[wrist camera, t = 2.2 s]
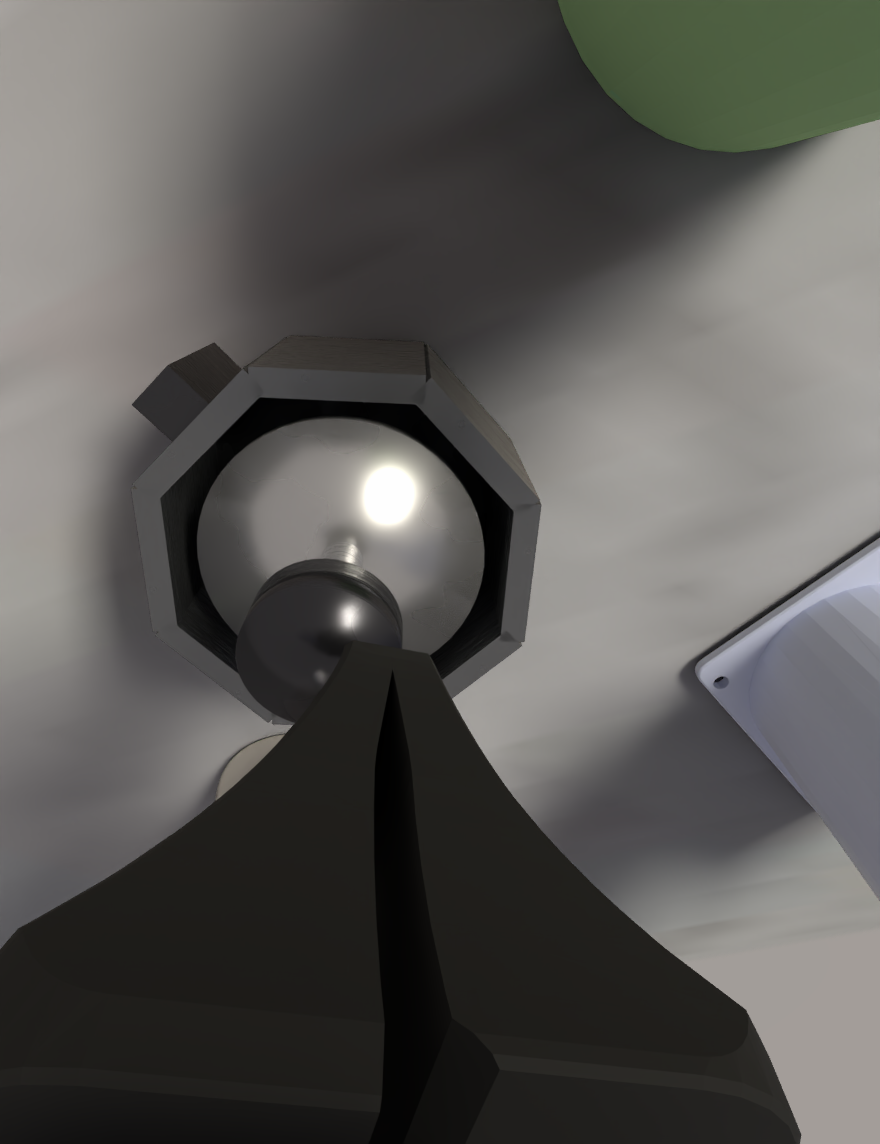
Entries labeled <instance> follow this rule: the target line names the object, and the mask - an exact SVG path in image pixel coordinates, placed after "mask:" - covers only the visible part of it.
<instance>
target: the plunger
mask: <svg viewBox="0 0 880 1144" xmlns="http://www.w3.org/2000/svg"><path fill="white" fill-rule="evenodd" d="M197 555H198V561H199V567H200V572H201V576H202V579H203V582H204V585H205V588H206V590H207V592H208V594H209V596H210V598H211V601H212V603H213V605H214V606H215V608H216V609H217V611H218V612H219V614H220V615H221V617H222V618H223V620H224V621H225V622H226V623H227V624H228V626H229V627H230V628H231V629H232V630H233V631H234V633H236V634H237V635H238V638H237V642H236V649H235V658H236V665H237V669H238V672H239V675H240V678H241V680H242V682H243V684H244V686H245V687H246V689H247V690H248V692H249V693H250V694H251V695H252V696H253V698H254V699H255V700H256V701H257V702H258V703H260V704H261V705H262V706H263V707H264V708H266V709H267V710H269V711H270V712H271V713H273V714H275V715H277V716H279V717H281V718H283V719H285V720H288V721H290V722H294V723H296V721H297V720H298V719H299V718H300V717H301V716H302V714H303V713H304V712H305V711H306V709H307V708H308V707H309V705H310V704H311V703H312V701H313V700H314V699H315V697H316V696H317V694H318V693H319V692H320V690H321V689H322V688H323V686H324V685H325V683H326V682H327V680H328V679H329V677H330V675H331V674H332V672H333V671H334V669H335V667H336V665H337V664H338V662H339V660H340V657H341V655H342V653H343V650H344V646H345V644H347V643H349V642H351V641H352V640H356V641H361V642H367V643H372V644H378V645H384V646H389V647H395V648H400V649H406V650H411V651H417V652H422V653H428V654H429V655H431V654H432V653H434V652H435V651H437V650H438V649H439V648H440V647H441V646H442V645H444V644H445V643H446V642H447V641H448V640H449V639H450V638H451V637H452V636H453V635H454V634H455V632H456V631H457V630H458V629H459V628H460V627H461V625H462V624H463V622H464V621H465V619H466V618H467V616H468V614H469V613H470V611H471V609H472V607H473V605H474V602H475V600H476V598H477V595H478V592H479V589H480V585H481V582H482V576H483V569H484V543H483V535H482V529H481V525H480V522H479V518H478V514H477V511H476V508H475V505H474V503H473V501H472V499H471V496H470V494H469V492H468V490H467V489H466V487H465V485H464V484H463V482H462V481H461V479H460V477H459V476H458V475H457V474H456V472H455V471H454V470H453V469H452V467H451V466H450V465H449V464H448V463H447V462H446V461H445V460H444V459H443V458H442V457H441V456H440V455H439V454H438V453H437V452H436V451H435V450H433V449H432V448H431V447H429V446H428V445H426V444H425V443H424V442H422V441H421V440H419V439H418V438H416V437H414V436H412V435H411V434H409V433H407V432H405V431H403V430H401V429H399V428H396V427H394V426H391V425H389V424H386V423H383V422H380V421H376V420H372V419H368V418H363V417H355V416H346V415H323V416H316V417H309V418H303V419H299V420H296V421H293V422H289V423H286V424H283V425H281V426H279V427H276V428H274V429H272V430H270V431H268V432H266V433H264V434H262V435H261V436H259V437H258V438H256V439H255V440H253V441H251V442H250V443H249V444H248V445H247V446H245V447H244V448H243V449H242V450H241V451H240V452H238V453H237V454H236V455H235V456H234V458H233V459H232V460H231V461H230V462H229V463H228V465H227V466H226V467H225V468H224V469H223V470H222V472H221V473H220V474H219V476H218V477H217V479H216V480H215V482H214V484H213V485H212V487H211V488H210V491H209V493H208V495H207V497H206V500H205V502H204V504H203V508H202V512H201V515H200V519H199V524H198V533H197Z"/></svg>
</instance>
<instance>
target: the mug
mask: <svg viewBox="0 0 880 1144" xmlns="http://www.w3.org/2000/svg"><path fill="white" fill-rule="evenodd" d="M558 3H559V7H560V10H561V14H562V17H563V20H564V23H565V25H566V27H567V29H568V31H569V33H570V35H571V37H572V39H573V42H574V44H575V46H576V48H577V50H578V52H579V54H580V56H581V58H582V60H583V62H584V63H585V65H586V66H587V67H588V69H589V70H590V72H591V73H592V74H593V76H594V77H595V79H596V80H597V81H598V83H599V84H600V85H601V87H602V88H603V90H604V91H605V92H606V94H607V95H608V96H609V97H610V98H611V99H613V100H614V101H615V102H616V103H617V104H618V105H619V106H620V107H621V108H622V109H623V110H624V111H625V112H627V113H628V114H629V115H630V116H631V117H632V118H633V119H634V120H635V121H637V122H639V123H641V124H642V125H644V126H646V127H647V128H649V129H651V130H652V131H654V132H656V133H657V134H659V135H661V136H662V137H664V138H666V139H669V140H672V141H675V142H678V143H681V144H684V145H688V146H691V147H694V148H697V149H701V150H712V151H723V152H734V153H736V152H745V151H753V150H761V149H769V148H774V147H778V146H782V145H786V144H789V143H793V142H797V141H801V140H804V139H808V138H812V137H815V136H819V135H823V134H827V133H830V132H834V131H838V130H842V129H845V128H849V127H853V126H857V125H860V124H864V123H868V122H872V121H875V120H879V119H880V0H558Z"/></svg>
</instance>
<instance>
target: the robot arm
mask: <svg viewBox="0 0 880 1144" xmlns="http://www.w3.org/2000/svg"><path fill="white" fill-rule="evenodd" d="M695 674H696V675H697V677H698V679H699V680H700V682H701V683H702V684H703V685H704V686H705V687H706V689H707V690H708V691H709V692H710V693H711V694H712V695H713V696H714V697H715V699H716V700H717V701H718V702H719V703H720V704H721V705H722V706H723V708H724V709H725V710H726V711H727V712H728V713H729V714H730V715H731V717H732V718H733V719H734V720H735V721H736V722H737V723H738V724H739V726H740V727H741V728H742V729H743V730H744V731H745V732H746V733H747V735H748V736H749V737H750V738H751V739H752V740H753V741H754V742H755V744H756V745H757V746H758V747H759V748H760V749H761V750H762V751H763V753H764V754H765V755H766V756H767V757H768V758H769V759H770V760H771V762H772V763H773V764H774V765H775V766H776V767H777V768H778V769H779V771H780V772H781V773H782V774H783V775H784V776H785V777H786V778H787V780H788V781H789V782H790V783H791V784H792V785H793V786H794V787H795V789H796V790H797V791H798V792H799V793H800V794H801V795H802V796H803V798H804V799H805V800H806V801H807V802H808V803H809V804H810V805H811V807H812V808H813V809H814V810H815V811H816V812H817V813H818V814H819V816H820V817H821V818H822V820H823V821H824V823H825V824H826V826H827V827H828V828H829V830H830V831H831V833H832V834H833V836H834V837H835V838H836V840H837V841H838V843H839V844H840V845H841V847H842V848H843V850H844V851H845V853H846V854H847V855H848V857H849V858H850V860H851V861H852V862H853V864H854V865H855V867H856V868H857V870H858V871H859V872H860V874H861V875H862V877H863V878H864V880H865V881H866V882H867V884H868V885H869V887H870V888H871V889H872V891H873V892H874V894H875V895H876V897H877V898H878V899H879V901H880V538H878V539H877V540H876V541H874V542H873V543H871V544H870V545H868V546H867V547H865V548H864V549H862V550H861V551H859V552H858V553H856V554H855V555H854V556H852V557H851V558H849V559H848V560H846V561H845V562H843V563H842V564H840V565H839V566H837V567H836V568H834V569H833V570H832V571H830V572H829V573H827V574H826V575H824V576H823V577H821V578H820V579H818V580H817V581H815V582H814V583H812V584H811V585H810V586H808V587H807V588H805V589H804V590H802V591H801V592H799V593H798V594H796V595H795V596H793V597H792V598H791V599H789V600H788V601H786V602H785V603H783V604H782V605H780V606H779V607H777V608H776V609H774V610H773V611H771V612H770V613H769V614H767V615H766V616H764V617H763V618H761V619H760V620H758V621H757V622H755V623H754V624H752V625H751V626H749V627H748V628H747V629H745V630H744V631H742V632H741V633H739V634H738V635H736V636H735V637H733V638H732V639H730V640H729V641H727V642H726V643H725V644H723V645H722V646H720V647H719V648H717V649H716V650H714V651H713V652H711V653H710V654H708V655H707V656H705V657H704V658H703V659H701V660H700V661H699V662H698V663H697V665H696V667H695ZM719 677H724V678H723V679H722V680H721V681H719V682H714V681H715V680H716V679H717V678H719ZM800 1139H801V1133H800V1131H799V1128H798V1125H797V1123H796V1121H795V1118H794V1116H793V1113H792V1111H791V1108H790V1106H789V1103H788V1101H787V1099H786V1096H785V1094H784V1091H783V1089H782V1087H781V1084H780V1082H779V1080H778V1077H777V1075H776V1072H775V1070H774V1067H773V1065H772V1062H771V1060H770V1058H769V1056H768V1054H767V1051H766V1050H765V1047H764V1045H763V1043H762V1041H761V1039H760V1037H759V1035H758V1033H757V1031H756V1029H755V1027H754V1025H753V1023H752V1021H751V1019H750V1017H749V1015H748V1013H747V1011H746V1010H745V1009H744V1008H743V1007H741V1006H740V1005H739V1004H737V1003H736V1002H735V1001H734V1000H732V999H731V998H730V997H728V996H727V995H726V994H724V993H723V992H722V991H720V990H719V989H718V988H716V987H715V986H714V985H713V984H711V983H710V982H708V981H707V980H706V979H704V978H703V977H702V976H701V975H699V974H698V973H697V972H695V971H694V970H693V969H691V968H690V967H689V966H687V965H686V964H685V963H684V962H682V961H681V960H680V959H678V958H677V957H676V956H674V955H673V954H672V953H670V952H669V951H668V950H667V949H665V948H664V947H663V946H662V945H660V944H659V943H658V942H657V941H656V940H654V939H653V938H652V937H651V936H650V935H649V934H648V933H646V932H645V931H644V930H643V929H642V928H641V927H639V926H638V925H637V924H636V923H635V922H634V921H633V920H631V919H630V918H629V917H628V916H627V915H626V914H624V913H623V912H622V911H621V910H620V909H619V908H618V907H617V906H615V905H614V904H613V903H612V902H611V901H610V900H609V899H608V898H607V897H606V896H605V895H604V894H603V893H601V892H600V891H599V890H598V889H597V888H596V887H595V886H594V885H593V884H592V883H591V882H590V881H589V880H588V879H587V878H586V877H585V876H584V875H583V874H582V873H581V872H580V871H579V870H578V869H577V868H576V867H575V866H574V865H573V864H572V863H571V862H570V861H569V860H568V859H567V858H566V857H565V856H564V855H563V854H562V853H561V852H560V851H559V849H558V848H557V847H556V846H555V845H554V844H553V843H552V842H551V841H550V840H549V839H548V837H547V836H546V835H545V834H544V833H543V832H542V831H541V830H540V828H539V827H538V826H537V825H536V823H535V822H534V821H533V820H532V819H531V817H530V816H529V815H528V814H527V813H526V811H525V810H524V809H523V808H522V807H521V805H520V804H519V803H518V802H517V801H516V799H515V798H514V797H513V795H512V794H511V793H510V791H509V790H508V789H507V787H506V786H505V785H504V783H503V782H502V780H501V779H500V777H499V776H498V775H497V773H496V772H495V770H494V769H493V767H492V766H491V764H490V763H489V761H488V760H487V758H486V757H485V755H484V754H483V752H482V750H481V749H480V747H479V746H478V744H477V742H476V741H475V739H474V737H473V736H472V734H471V732H470V731H469V729H468V727H467V725H466V724H465V722H464V720H463V719H462V717H461V715H460V713H459V712H458V710H457V708H456V706H455V704H454V702H453V700H452V698H451V697H450V695H449V693H448V691H447V689H446V687H445V685H444V683H443V681H442V679H441V677H440V675H439V672H438V670H437V668H436V666H435V664H434V662H433V660H432V659H431V657H430V655H429V654H428V653H422V652H417V651H411V650H406V649H400V648H395V647H389V646H384V645H378V644H372V643H367V642H361V641H356V640H352V641H351V642H349V643H347V644H345V646H344V650H343V653H342V655H341V657H340V660H339V662H338V664H337V665H336V667H335V669H334V671H333V672H332V674H331V675H330V677H329V679H328V680H327V682H326V683H325V685H324V686H323V688H322V689H321V690H320V692H319V693H318V694H317V696H316V697H315V699H314V700H313V701H312V703H311V704H310V705H309V707H308V708H307V709H306V711H305V712H304V713H303V714H302V716H301V717H300V718H299V719H298V720H297V721H296V723H295V724H294V725H293V726H292V727H291V728H290V730H289V731H288V732H287V733H286V734H285V735H284V736H283V738H282V739H281V740H280V741H279V742H278V743H277V744H276V745H275V746H274V748H273V749H272V750H271V751H270V752H269V753H268V754H267V755H266V756H265V757H264V758H263V759H262V760H261V761H260V762H259V763H258V764H257V765H256V766H255V767H254V768H252V769H251V770H250V771H249V772H248V773H247V774H246V775H245V776H244V777H243V778H242V779H241V780H240V781H239V782H237V783H236V784H235V785H234V786H233V787H232V788H231V789H229V790H228V791H227V792H226V793H225V794H223V795H222V796H221V797H220V798H219V799H217V800H216V801H215V802H214V803H213V804H211V805H210V806H209V807H208V808H207V809H205V810H204V811H203V812H202V813H200V814H199V815H198V816H196V817H195V818H194V819H193V820H191V821H190V822H189V823H187V824H186V825H185V826H183V827H182V828H181V829H179V830H178V831H177V832H175V833H174V834H172V835H171V836H169V837H168V838H166V839H165V840H163V841H162V842H160V843H159V844H158V845H156V846H155V847H153V848H152V849H150V850H149V851H147V852H146V853H144V854H143V855H141V856H140V857H139V858H137V859H136V860H134V861H133V862H131V863H130V864H128V865H127V866H125V867H124V868H122V869H121V870H119V871H118V872H116V873H114V874H113V875H111V876H110V877H108V878H106V879H105V880H103V881H101V882H100V883H98V884H96V885H94V886H93V887H91V888H89V889H87V890H86V891H84V892H82V893H80V894H79V895H77V896H75V897H73V898H72V899H70V900H68V901H67V902H65V903H63V904H61V905H60V906H58V907H56V908H54V909H53V910H51V911H49V912H47V913H46V914H44V915H42V916H40V917H39V918H37V919H35V920H33V921H31V922H30V923H28V924H26V925H24V926H22V927H20V928H19V929H18V930H17V931H16V932H15V933H14V934H13V935H12V936H11V938H10V939H9V940H8V941H7V942H6V943H5V945H4V946H3V947H2V948H1V949H0V1144H800Z"/></svg>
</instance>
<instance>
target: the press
mask: <svg viewBox="0 0 880 1144" xmlns="http://www.w3.org/2000/svg"><path fill="white" fill-rule="evenodd" d="M132 405H133V406H134V407H135V408H136V409H137V410H138V411H139V412H140V413H141V414H143V415H144V416H145V417H146V418H147V419H148V420H149V421H150V422H151V423H153V424H154V425H155V426H156V427H157V428H158V429H159V430H160V431H161V432H163V433H164V434H165V435H166V436H167V437H168V438H169V439H170V440H171V441H173V442H172V443H171V444H170V445H169V446H168V447H167V448H166V449H165V451H164V452H163V453H162V454H161V455H160V456H159V457H158V458H157V459H156V460H155V461H154V462H153V463H152V464H151V465H150V466H149V467H148V468H147V469H146V470H145V471H144V472H143V473H142V475H141V476H140V477H139V478H138V479H137V480H136V481H135V482H134V483H133V485H134V487H132V488H131V493H132V499H133V506H134V512H135V519H136V525H137V532H138V539H139V545H140V552H141V558H142V565H143V571H144V578H145V585H146V591H147V598H148V604H149V611H150V617H151V624H152V631H153V632H157V634H156V635H155V636H156V637H158V638H159V639H160V640H162V641H163V642H164V643H165V644H167V645H168V646H169V647H171V648H172V649H173V650H175V651H176V652H177V653H178V654H180V655H181V656H182V657H184V658H185V659H186V660H187V661H189V662H190V663H191V664H193V665H194V666H195V667H197V668H198V669H199V670H200V671H202V672H203V673H204V674H206V675H207V676H208V677H209V678H211V679H212V680H213V681H215V682H216V683H217V684H219V685H220V686H221V687H222V688H224V689H225V690H226V691H228V692H229V693H230V694H231V695H233V696H234V697H235V698H237V699H238V700H239V701H241V702H242V703H243V704H244V705H246V706H247V707H248V708H250V709H251V710H252V711H253V712H255V713H256V714H257V715H259V716H260V717H261V718H263V719H264V720H265V721H266V722H270V721H271V720H272V724H282V725H294V724H295V723H294V722H290V721H288V720H285V719H283V718H281V717H279V716H277V715H275V714H273V713H271V712H270V711H269V710H267V709H266V708H264V707H263V706H262V705H261V704H260V703H258V702H257V701H256V700H255V699H254V698H253V696H252V695H251V694H250V693H249V692H248V690H247V689H246V687H245V686H244V684H243V682H242V680H241V678H240V675H239V672H238V669H237V665H236V658H235V649H236V642H237V638H238V635H237V634H236V633H234V631H233V630H232V629H231V628H230V627H229V626H228V624H227V623H226V622H225V621H224V620H223V618H222V617H221V615H220V614H219V612H218V611H217V609H216V608H215V606H214V605H213V603H212V601H211V598H210V596H209V594H208V592H207V590H206V588H205V585H204V582H203V579H202V576H201V572H200V567H199V561H198V555H197V533H198V524H199V519H200V515H201V512H202V508H203V504H204V502H205V500H206V497H207V495H208V493H209V491H210V488H211V487H212V485H213V484H214V482H215V480H216V479H217V477H218V476H219V474H220V473H221V472H222V470H223V469H224V468H225V467H226V466H227V465H228V463H229V462H230V461H231V460H232V459H233V458H234V456H235V455H236V454H237V453H238V452H240V451H241V450H242V449H243V448H244V447H245V446H247V445H248V444H249V443H250V442H251V441H253V440H255V439H256V438H258V437H259V436H261V435H262V434H264V433H266V432H268V431H270V430H272V429H274V428H276V427H279V426H281V425H283V424H286V423H289V422H293V421H296V420H299V419H303V418H309V417H316V416H323V415H346V416H355V417H363V418H368V419H372V420H376V421H380V422H383V423H386V424H389V425H391V426H394V427H396V428H399V429H401V430H403V431H405V432H407V433H409V434H411V435H412V436H414V437H416V438H418V439H419V440H421V441H422V442H424V443H425V444H426V445H428V446H429V447H431V448H432V449H433V450H435V451H436V452H437V453H438V454H439V455H440V456H441V457H442V458H443V459H444V460H445V461H446V462H447V463H448V464H449V465H450V466H451V467H452V469H453V470H454V471H455V472H456V474H457V475H458V476H459V477H460V479H461V481H462V482H463V484H464V485H465V487H466V489H467V490H468V492H469V494H470V496H471V499H472V501H473V503H474V505H475V508H476V511H477V514H478V518H479V522H480V525H481V529H482V535H483V543H484V569H483V576H482V582H481V585H480V589H479V592H478V595H477V598H476V600H475V602H474V605H473V607H472V609H471V611H470V613H469V614H468V616H467V618H466V619H465V621H464V622H463V624H462V625H461V627H460V628H459V629H458V630H457V631H456V632H455V634H454V635H453V636H452V637H451V638H450V639H449V640H448V641H447V642H446V643H445V644H444V645H442V646H441V647H440V648H439V649H438V650H437V651H435V652H434V653H432V654H431V655H430V657H431V659H432V660H433V662H434V664H435V666H436V668H437V670H438V672H439V675H440V677H441V679H442V681H443V683H444V685H445V687H446V689H447V691H448V693H449V695H450V697H451V698H453V697H455V696H456V695H457V694H459V693H460V692H461V691H463V690H464V689H465V688H467V687H468V686H469V685H471V684H472V683H473V682H475V681H476V680H477V679H479V678H480V677H481V676H483V675H484V674H485V673H487V672H488V671H489V670H491V669H492V668H493V667H495V666H496V665H497V664H499V663H500V662H501V661H503V660H504V659H505V658H507V657H508V656H509V655H511V654H512V653H513V652H515V651H516V650H517V649H519V648H520V647H521V646H522V644H521V642H524V641H525V633H526V625H527V617H528V609H529V600H530V592H531V584H532V576H533V568H534V560H535V552H536V544H537V536H538V528H539V520H540V512H541V503H540V501H539V500H540V499H539V497H538V495H537V493H536V491H535V489H534V487H533V485H532V483H531V480H530V478H529V476H528V474H527V472H526V470H525V468H524V466H523V464H522V462H521V460H520V458H519V456H518V453H517V451H516V449H515V447H514V445H513V443H512V441H511V439H510V438H509V437H508V436H507V435H506V433H505V432H504V431H503V430H502V429H501V428H500V427H499V425H498V424H497V423H496V422H495V421H494V420H493V419H492V417H491V416H490V415H489V414H488V413H487V412H486V410H485V409H484V408H483V407H482V406H481V405H480V404H479V402H478V401H477V400H476V399H475V398H474V397H473V396H472V394H471V393H470V392H469V391H468V390H467V389H466V388H465V386H464V385H463V384H462V383H461V382H460V381H459V379H458V378H457V377H456V376H455V375H454V374H453V373H452V371H451V370H450V369H449V368H448V367H447V366H446V365H445V363H444V362H443V361H442V360H441V359H440V358H439V357H438V355H437V354H436V353H435V352H434V351H433V350H432V349H431V347H430V346H429V345H428V344H427V345H426V346H425V347H424V342H413V341H393V340H373V339H353V338H333V337H314V336H294V335H291V336H289V337H288V338H287V337H286V338H285V339H283V340H282V341H280V342H279V343H278V344H276V345H275V346H274V347H272V348H271V349H269V350H268V351H267V352H265V353H264V354H263V355H261V356H260V357H258V358H257V359H256V360H254V361H253V362H251V363H250V364H249V365H247V366H246V367H245V368H243V369H241V368H240V367H239V366H238V365H237V364H236V363H235V362H234V361H233V360H232V359H231V358H230V357H229V356H228V355H227V354H226V353H225V352H223V351H222V350H221V349H220V348H219V347H218V346H217V345H216V344H215V343H212V344H210V345H208V346H206V347H204V348H202V349H200V350H198V351H196V352H194V353H192V354H190V355H188V356H186V357H184V358H182V359H180V360H178V361H175V362H173V363H171V364H169V365H168V366H167V367H166V368H165V369H164V370H163V371H162V372H161V373H160V374H159V375H158V377H157V378H156V379H155V380H154V381H153V382H152V383H151V384H150V385H149V386H148V387H147V389H146V390H145V391H144V392H143V393H142V394H141V395H140V396H139V397H138V398H137V400H136V401H135V402H134V403H133V404H132Z"/></svg>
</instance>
